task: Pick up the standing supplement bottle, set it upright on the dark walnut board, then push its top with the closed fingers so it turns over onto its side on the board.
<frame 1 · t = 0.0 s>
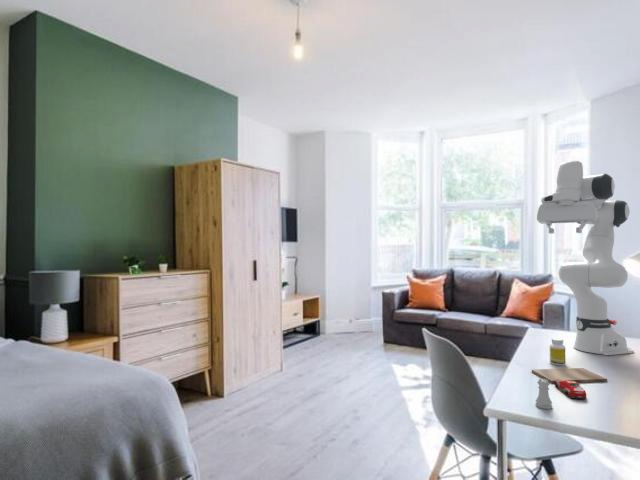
hand: (564, 232, 155), 52 cm above the table, tool tilted 20°, fingers open, 8 cm apart
rook chess piece: (543, 407, 121), on the table
supplement bottle: (557, 364, 161), on the table
race car: (570, 393, 132), on the table
walnut board: (568, 376, 146), on the table
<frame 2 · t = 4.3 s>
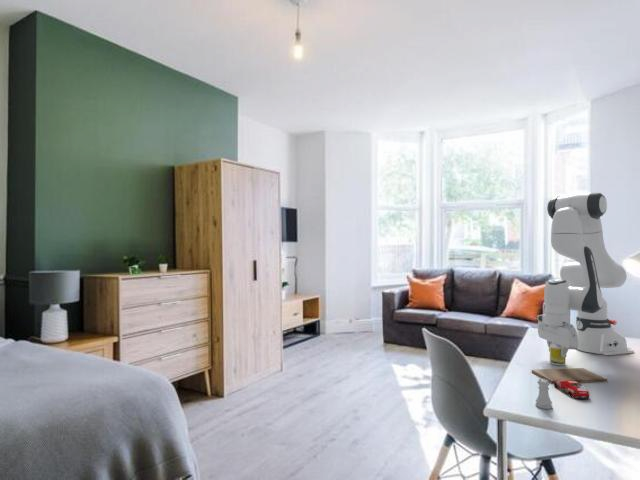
hand: (557, 354, 161), 4 cm above the table, tool pointing down, fingers closed on supplement bottle, 5 cm apart
supplement bottle: (557, 364, 161), on the table, touching gripper
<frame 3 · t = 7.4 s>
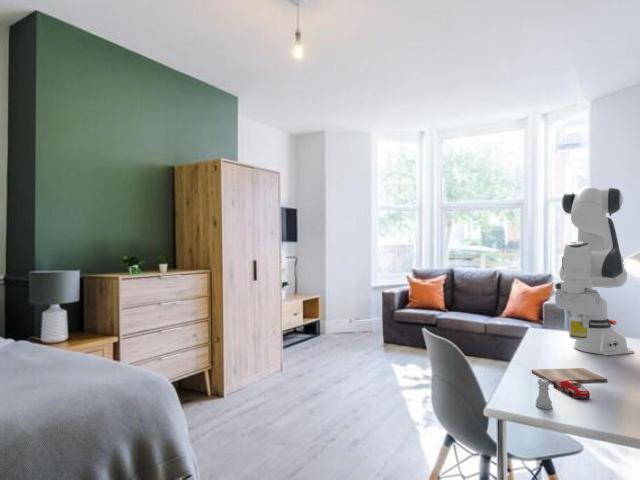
hand: (578, 325, 146), 19 cm above the table, tool pointing down, fingers closed on supplement bottle, 5 cm apart
supplement bottle: (578, 338, 146), point 14 cm above the table, touching gripper
everything else where it was.
when the fingers open (6 cm above the table, at t = 10.4 s): supplement bottle stays where it is, resting on walnut board.
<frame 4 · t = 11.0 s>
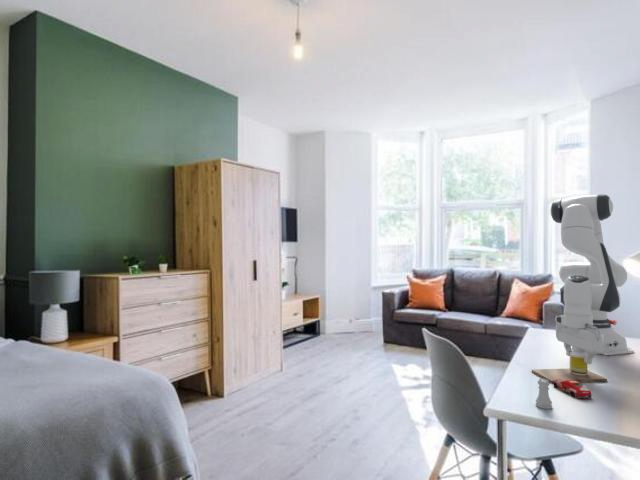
hand: (578, 359, 146), 6 cm above the table, tool pointing down, fingers open, 8 cm apart
supplement bottle: (578, 374, 146), point 1 cm above the table, touching walnut board
everything else where it was.
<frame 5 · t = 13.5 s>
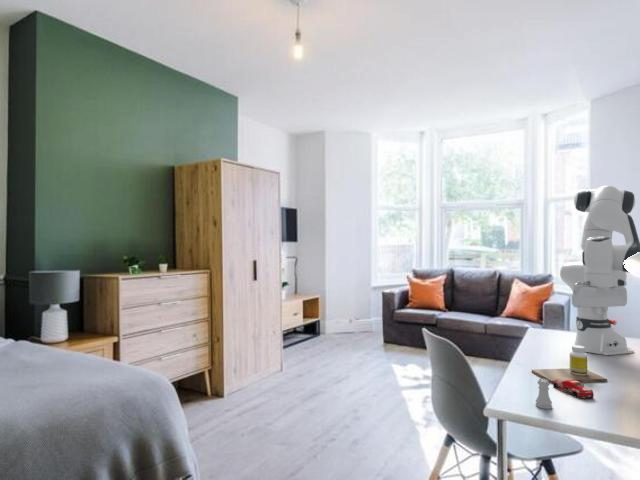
hand: (599, 319, 147), 20 cm above the table, tool pointing down, fingers closed
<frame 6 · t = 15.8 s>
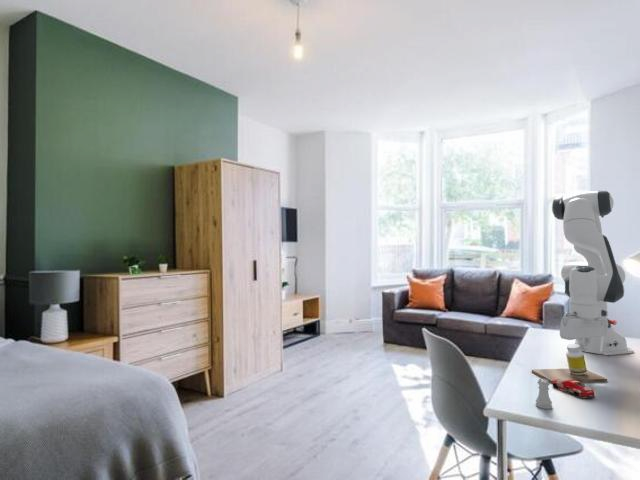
hand: (583, 350, 146), 10 cm above the table, tool pointing down, fingers closed
supplement bottle: (578, 372, 146), point 1 cm above the table, touching gripper, walnut board
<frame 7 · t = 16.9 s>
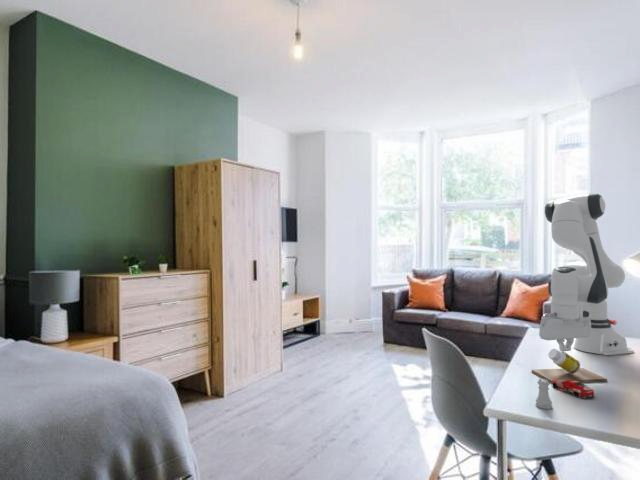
hand: (565, 350, 146), 10 cm above the table, tool pointing down, fingers closed
supplement bottle: (575, 367, 146), point 3 cm above the table, touching gripper, walnut board
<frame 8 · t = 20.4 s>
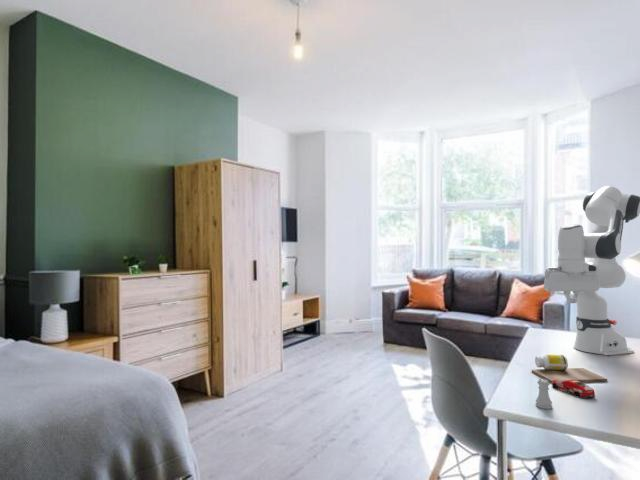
hand: (571, 302, 155), 25 cm above the table, tool pointing down, fingers closed
supplement bottle: (565, 362, 151), point 4 cm above the table, touching walnut board
at the end: supplement bottle tilted 90°; supplement bottle inside the target area on the walnut board (5.3 cm from its centre), point 3.7 cm above the walnut board's base; the gripper is holding nothing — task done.
